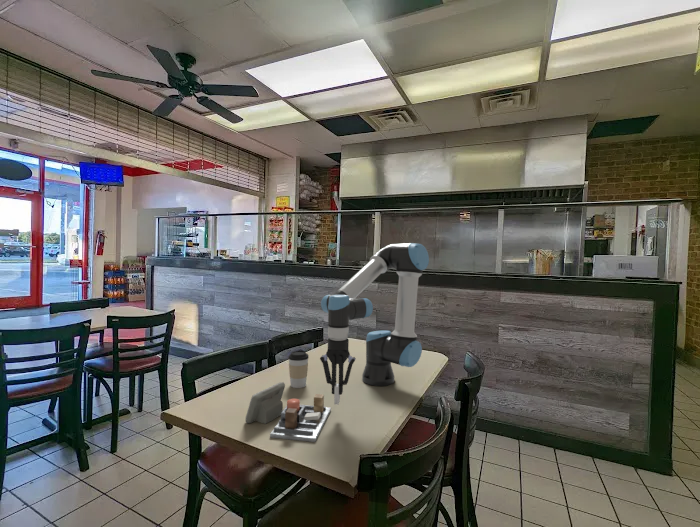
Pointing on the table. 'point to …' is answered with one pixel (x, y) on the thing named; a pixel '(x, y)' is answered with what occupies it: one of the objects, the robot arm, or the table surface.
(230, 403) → the table surface
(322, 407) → the tan wooden block
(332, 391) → the robot arm
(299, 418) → the grey compartment tray
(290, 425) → the dark brown wooden block
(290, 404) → the button
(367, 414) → the table surface
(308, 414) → the block
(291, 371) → the coffee cup
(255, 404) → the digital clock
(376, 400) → the table surface
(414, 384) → the table surface
